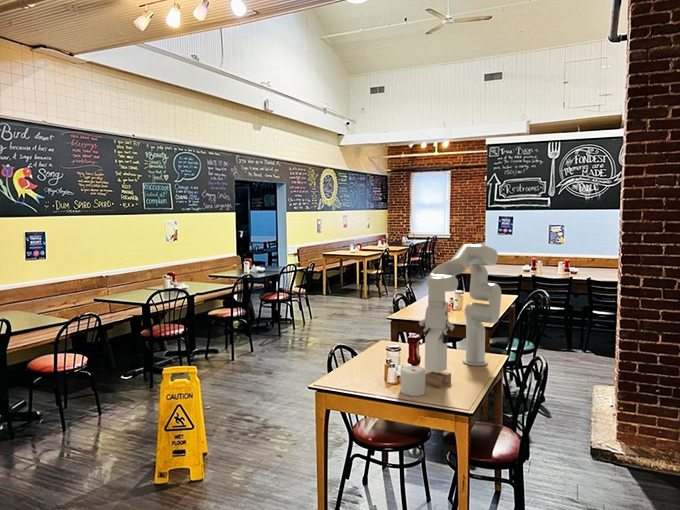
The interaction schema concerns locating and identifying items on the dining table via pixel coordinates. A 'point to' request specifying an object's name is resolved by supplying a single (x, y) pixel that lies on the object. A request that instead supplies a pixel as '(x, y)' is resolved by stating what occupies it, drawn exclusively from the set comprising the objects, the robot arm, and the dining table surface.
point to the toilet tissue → (412, 380)
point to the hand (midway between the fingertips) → (436, 341)
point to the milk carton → (435, 351)
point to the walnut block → (437, 378)
